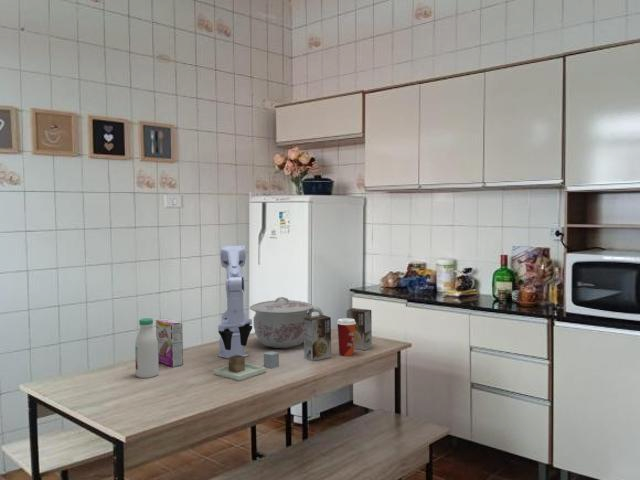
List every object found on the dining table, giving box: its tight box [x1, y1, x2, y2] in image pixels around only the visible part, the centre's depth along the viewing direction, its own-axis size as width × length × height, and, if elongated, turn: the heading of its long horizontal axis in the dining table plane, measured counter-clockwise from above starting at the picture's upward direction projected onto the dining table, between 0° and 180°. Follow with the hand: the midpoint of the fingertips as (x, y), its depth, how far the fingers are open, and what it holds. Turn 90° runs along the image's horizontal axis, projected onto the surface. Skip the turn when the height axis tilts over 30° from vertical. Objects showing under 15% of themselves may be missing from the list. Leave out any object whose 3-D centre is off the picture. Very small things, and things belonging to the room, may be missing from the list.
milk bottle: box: [134, 317, 160, 379], centre depth 200 cm, size 8×8×20 cm
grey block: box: [263, 350, 280, 369], centre depth 211 cm, size 4×4×5 cm
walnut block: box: [228, 355, 246, 373], centre depth 204 cm, size 4×4×5 cm
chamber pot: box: [249, 296, 324, 349], centre depth 243 cm, size 28×28×21 cm
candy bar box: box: [155, 318, 184, 368], centre depth 215 cm, size 11×5×16 cm, turn 47°
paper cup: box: [336, 317, 356, 357], centre depth 227 cm, size 8×8×14 cm
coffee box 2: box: [346, 307, 373, 351], centre depth 238 cm, size 9×6×16 cm
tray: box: [213, 362, 267, 382], centre depth 202 cm, size 13×13×2 cm
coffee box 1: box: [303, 314, 332, 362], centre depth 222 cm, size 9×6×16 cm
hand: (235, 347), depth 203 cm, fingers open, 7 cm apart
